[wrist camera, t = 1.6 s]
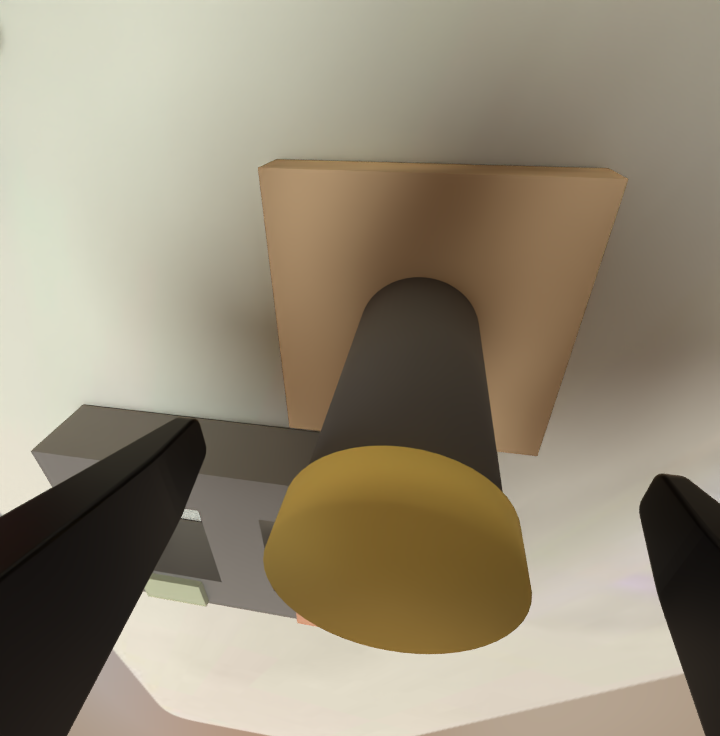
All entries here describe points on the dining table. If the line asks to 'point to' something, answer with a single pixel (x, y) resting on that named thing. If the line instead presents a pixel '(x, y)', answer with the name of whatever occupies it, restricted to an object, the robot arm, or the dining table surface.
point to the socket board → (201, 501)
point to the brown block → (437, 268)
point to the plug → (405, 490)
